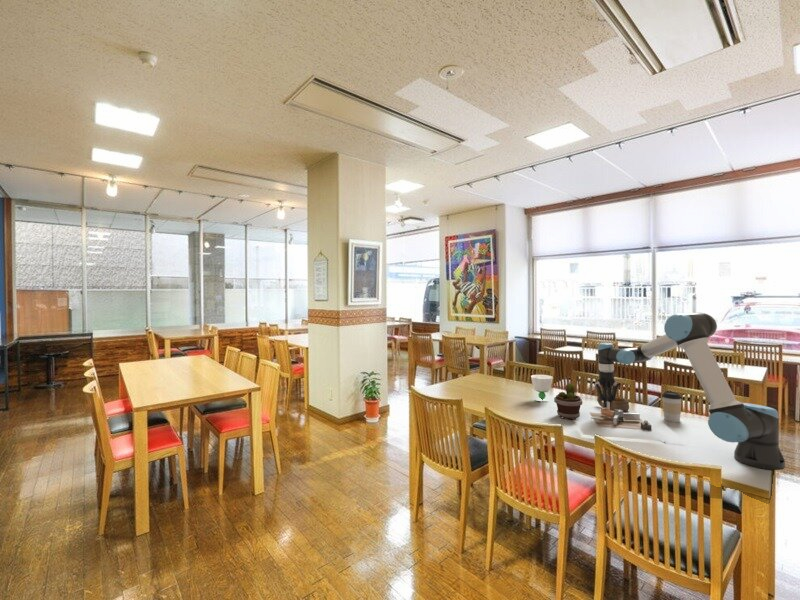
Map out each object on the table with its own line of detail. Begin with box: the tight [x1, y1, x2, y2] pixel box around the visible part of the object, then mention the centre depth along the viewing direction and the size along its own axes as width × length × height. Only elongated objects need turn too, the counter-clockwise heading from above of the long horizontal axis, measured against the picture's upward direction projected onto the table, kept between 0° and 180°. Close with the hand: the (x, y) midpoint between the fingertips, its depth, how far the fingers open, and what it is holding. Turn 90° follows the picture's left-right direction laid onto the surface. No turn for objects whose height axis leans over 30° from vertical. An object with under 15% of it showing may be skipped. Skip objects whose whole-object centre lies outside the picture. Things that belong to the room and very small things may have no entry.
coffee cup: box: [661, 390, 683, 423], centre depth 207 cm, size 9×9×15 cm
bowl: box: [596, 393, 630, 413], centre depth 224 cm, size 18×14×10 cm
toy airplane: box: [589, 412, 652, 431], centre depth 203 cm, size 24×25×6 cm
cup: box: [530, 374, 554, 400], centre depth 249 cm, size 14×14×16 cm
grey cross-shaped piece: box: [600, 407, 641, 425], centre depth 205 cm, size 16×18×6 cm
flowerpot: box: [553, 382, 583, 420], centre depth 215 cm, size 14×15×20 cm
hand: (607, 412), depth 211 cm, fingers closed
